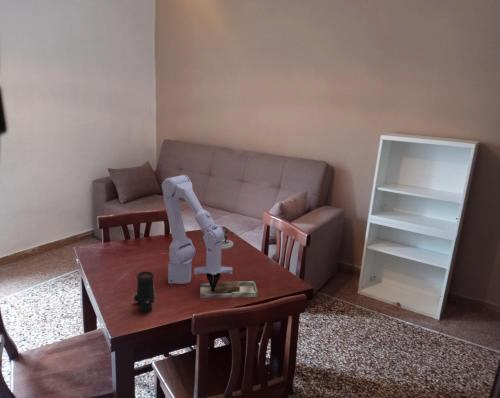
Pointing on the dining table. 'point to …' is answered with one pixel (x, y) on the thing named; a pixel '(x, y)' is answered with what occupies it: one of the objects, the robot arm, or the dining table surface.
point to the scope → (145, 291)
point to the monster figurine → (227, 241)
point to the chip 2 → (233, 287)
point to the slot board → (245, 291)
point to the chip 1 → (222, 287)
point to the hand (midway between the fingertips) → (212, 289)
